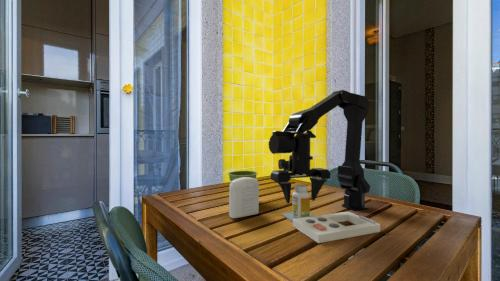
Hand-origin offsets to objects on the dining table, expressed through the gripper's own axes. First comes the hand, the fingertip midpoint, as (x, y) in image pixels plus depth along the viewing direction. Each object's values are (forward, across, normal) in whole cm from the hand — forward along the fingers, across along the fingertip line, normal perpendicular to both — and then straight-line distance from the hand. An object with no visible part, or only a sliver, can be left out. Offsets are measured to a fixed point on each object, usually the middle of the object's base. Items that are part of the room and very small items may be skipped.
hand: (300, 201), depth 79 cm
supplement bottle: (+5, 0, 0) cm, 5 cm away
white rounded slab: (+5, +16, -8) cm, 19 cm away
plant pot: (+5, +11, -24) cm, 27 cm away
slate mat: (+5, 0, 0) cm, 5 cm away
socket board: (+5, -4, +12) cm, 13 cm away
